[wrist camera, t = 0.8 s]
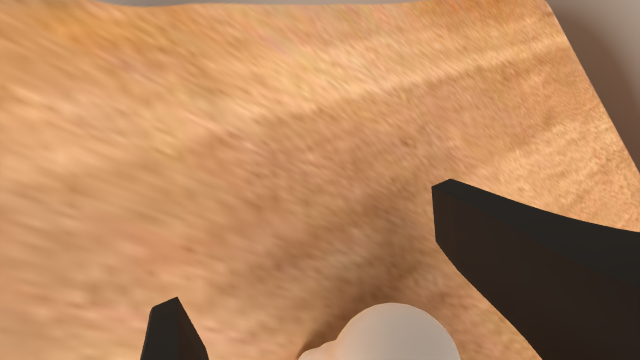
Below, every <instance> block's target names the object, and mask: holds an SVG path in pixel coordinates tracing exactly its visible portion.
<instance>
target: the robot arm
mask: <svg viewBox="0 0 640 360" xmlns="http://www.w3.org/2000/svg"><path fill="white" fill-rule="evenodd" d="M432 200H433V212H434V225H435V238H436V242H437V244H438V245H439V246H440V248H441V249H442V251H443V252H444V253H445V255H446V256H447V257H448V259H449V260H450V261H451V262H452V264H453V265H454V266H455V267H456V269H457V270H458V271H459V272H460V273H461V274H462V275H463V276H464V277H465V278H466V279H467V280H468V281H469V282H470V283H471V284H472V285H473V286H474V287H475V288H476V289H477V290H478V291H479V292H480V293H481V294H482V295H483V296H484V297H485V298H486V299H487V300H488V301H489V302H490V303H491V304H492V305H493V306H494V307H495V308H496V309H497V310H498V311H499V312H500V313H501V314H502V315H503V316H504V317H505V318H506V319H507V320H508V321H509V322H510V323H511V324H512V325H513V326H514V327H515V328H516V329H517V330H518V331H519V332H520V334H521V335H522V336H523V337H524V338H525V339H526V340H527V341H528V343H529V344H530V345H531V346H532V347H533V349H534V350H535V351H536V352H537V353H538V355H539V356H540V357H541V358H542V360H640V232H634V231H628V230H623V229H617V228H612V227H607V226H603V225H598V224H594V223H589V222H585V221H581V220H577V219H573V218H569V217H565V216H562V215H558V214H555V213H551V212H548V211H544V210H541V209H538V208H535V207H532V206H529V205H525V204H522V203H519V202H516V201H514V200H511V199H508V198H505V197H502V196H499V195H496V194H494V193H491V192H488V191H485V190H482V189H480V188H477V187H474V186H471V185H468V184H465V183H463V182H460V181H456V180H453V179H448V180H446V181H444V182H441V183H439V184H437V185H434V186H432ZM140 360H209V358H208V354H207V351H206V348H205V346H204V344H203V342H202V340H201V339H200V337H199V335H198V333H197V331H196V330H195V328H194V326H193V324H192V322H191V320H190V319H189V317H188V315H187V313H186V311H185V310H184V308H183V306H182V304H181V302H180V301H179V299H178V297H175V298H173V299H170V300H168V301H166V302H163V303H161V304H159V305H156V306H154V307H153V308H152V309H151V311H150V315H149V321H148V326H147V332H146V336H145V341H144V345H143V350H142V354H141V358H140Z"/></svg>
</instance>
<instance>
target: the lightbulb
mask: <svg viewBox="0 0 640 360" xmlns="http://www.w3.org/2000/svg"><path fill="white" fill-rule="evenodd" d="M298 360H461V359H460V355H459V352H458V349H457V347H456V345H455V343H454V341H453V339H452V338H451V336H450V335H449V333H448V332H447V331H446V329H445V328H444V327H443V326H442V325H441V324H440V323H439V322H438V321H437V320H436V319H435V318H434V317H432V316H431V315H430V314H428V313H427V312H425V311H424V310H421V309H419V308H416V307H414V306H411V305H408V304H401V303H392V302H391V303H383V304H378V305H374V306H371V307H369V308H367V309H365V310H363V311H362V312H360V313H358V314H357V315H356V316H354V317H353V318H352V319H351V320H350V321H349V322H348V323H347V325H346V326H345V327H344V328H343V330H342V331H341V333H340V334H339V336H338V337H337V339H336V340H334V341H330V342H327V343H324V344H323V345H321V346H320V347H318V348H313V349H310V350H307V351H305V352H304V353H303V354H302V355H301V356H300V357H299V359H298Z"/></svg>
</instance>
